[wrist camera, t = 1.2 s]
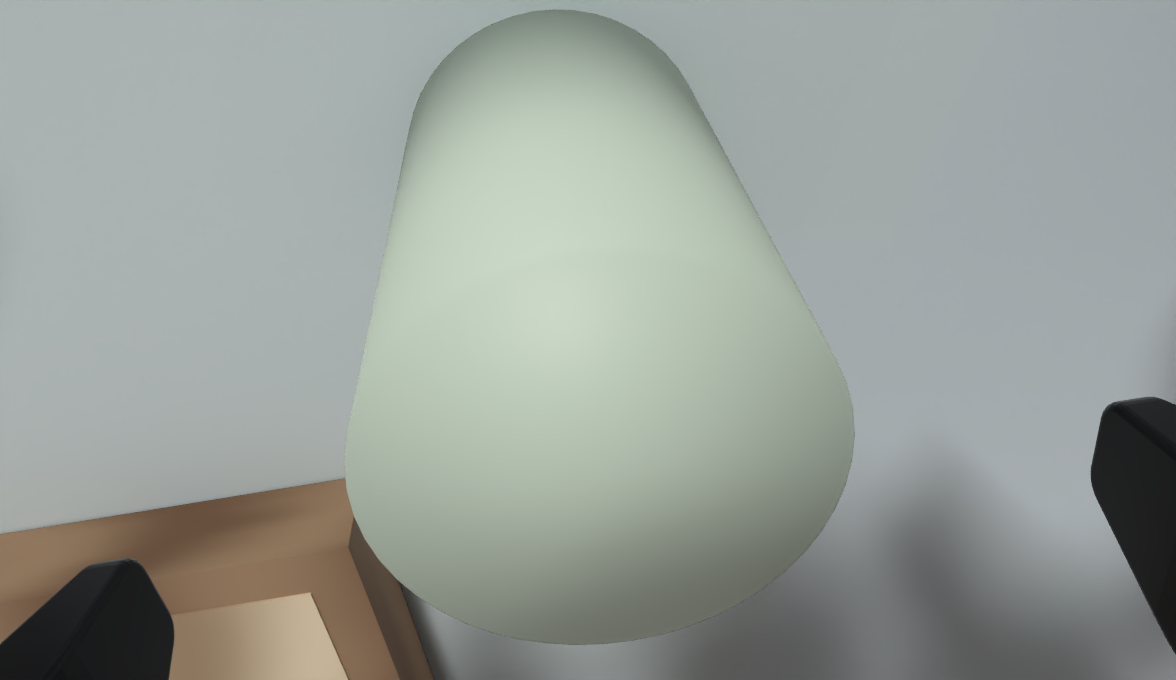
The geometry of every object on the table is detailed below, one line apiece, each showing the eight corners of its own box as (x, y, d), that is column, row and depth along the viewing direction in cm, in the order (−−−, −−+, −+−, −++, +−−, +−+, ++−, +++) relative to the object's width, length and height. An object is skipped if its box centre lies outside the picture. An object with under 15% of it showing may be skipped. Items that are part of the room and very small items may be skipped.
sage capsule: (693, -15, 15) (859, 206, 8) (713, 266, 17) (851, 605, 11) (373, 37, 15) (273, 302, 8) (444, 310, 17) (413, 675, 11)
